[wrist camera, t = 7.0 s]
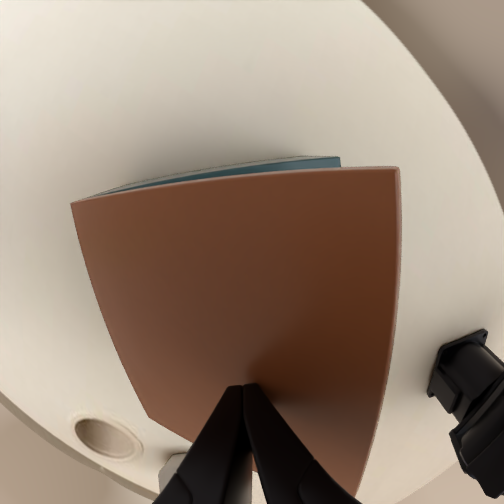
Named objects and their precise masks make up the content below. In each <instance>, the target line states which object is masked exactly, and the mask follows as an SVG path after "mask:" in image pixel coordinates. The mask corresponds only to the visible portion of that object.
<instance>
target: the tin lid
mask: <svg viewBox="0 0 504 504" xmlns="http://www.w3.org/2000/svg"><path fill="white" fill-rule="evenodd" d="M71 209H72V214H73V218H74V222H75V227H76V231H77V235H78V239H79V243H80V246H81V250H82V254H83V257H84V261H85V264H86V267H87V271H88V274H89V277H90V280H91V284H92V287H93V290H94V293H95V296H96V299H97V302H98V304H99V307H100V310H101V313H102V315H103V318H104V321H105V323H106V326H107V329H108V331H109V334H110V336H111V339H112V341H113V344H114V346H115V348H116V351H117V353H118V355H119V358H120V360H121V362H122V365H123V367H124V369H125V371H126V373H127V375H128V378H129V380H130V382H131V384H132V386H133V388H134V390H135V392H136V394H137V396H138V398H139V400H140V402H141V404H142V406H143V408H144V410H145V412H146V413H147V415H148V417H149V418H151V419H152V420H154V421H155V422H157V423H159V424H160V425H162V426H164V427H165V428H167V429H169V430H171V431H172V432H174V433H176V434H178V435H179V436H181V437H183V438H185V439H187V440H189V441H190V442H192V443H194V441H195V440H196V438H197V436H198V435H199V433H200V431H201V430H202V428H203V427H204V425H205V423H206V422H207V420H208V418H209V417H210V415H211V413H212V412H213V410H214V408H215V407H216V405H217V403H218V402H219V400H220V398H221V397H222V395H223V393H224V391H225V390H226V388H227V387H228V386H232V385H242V386H243V385H244V384H248V383H257V384H258V385H259V386H260V388H261V389H262V390H263V392H264V393H265V394H266V396H267V397H268V399H269V400H270V401H271V403H272V404H273V405H274V407H275V408H276V409H277V411H278V412H279V413H280V415H281V416H282V417H283V419H284V420H285V421H286V422H287V424H288V425H289V426H290V428H291V429H292V430H293V431H294V433H295V434H296V435H297V437H298V438H299V439H300V440H301V442H302V443H303V444H304V445H305V447H306V448H307V449H308V450H309V452H310V453H311V454H312V455H313V456H314V459H316V460H317V461H318V462H319V463H320V465H321V466H322V467H323V468H324V469H325V470H326V472H327V473H328V474H329V475H330V476H331V477H332V478H333V479H334V480H335V481H336V482H337V483H338V484H339V485H340V486H341V487H342V488H344V489H345V490H346V491H347V492H348V493H349V494H351V495H352V496H353V497H354V498H355V495H356V493H357V491H358V489H359V486H360V483H361V480H362V477H363V474H364V471H365V468H366V465H367V461H368V458H369V455H370V451H371V448H372V444H373V441H374V437H375V433H376V429H377V425H378V421H379V417H380V413H381V409H382V404H383V400H384V395H385V390H386V385H387V380H388V374H389V369H390V363H391V356H392V350H393V343H394V335H395V328H396V319H397V309H398V299H399V286H400V269H401V241H402V210H401V181H400V169H399V167H396V166H377V167H339V168H318V169H301V170H286V171H273V172H262V173H251V174H241V175H232V176H223V177H214V178H206V179H198V180H191V181H183V182H176V183H170V184H163V185H157V186H150V187H144V188H138V189H133V190H127V191H121V192H116V193H111V194H106V195H101V196H96V197H91V198H86V199H82V200H78V201H75V202H72V203H71ZM252 471H255V472H257V473H258V471H257V468H256V464H255V460H254V457H253V464H252Z"/></svg>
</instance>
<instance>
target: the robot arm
mask: <svg viewBox="0 0 504 504" xmlns="http://www.w3.org/2000/svg"><path fill="white" fill-rule="evenodd" d="M487 335H488V331H487V330H485V329H483V330H481V331H479V332H476V333H474V334H472V335H469V336H467V337H465V338H462V339H460V340H457V341H455V342H452V343H450V344H447V345H444V346H443V347H441V349H440V350H439V353H438V357H437V361H436V365H435V368H434V372H433V375H432V379H431V382H430V385H429V389H428V392H427V395H428V397H429V398H431V397H433V396H436V397H437V399H438V400H439V402H440V403H441V404H442V406H443V407H444V409H445V410H446V411H447V413H449V414H451V413H452V414H453V415H454V416H455V418H456V419H457V421H458V422H459V424H458V425H457V426H456V427H455V428H454V429H452V430H451V431H450V432H449V435H450V438H451V442H452V444H453V447H454V449H455V452H456V455H457V457H458V460H459V463H460V465H461V468H462V470H463V472H464V473H465V474H468V475H469V476H470V477H472V478H473V479H476V480H477V481H478V482H479V484H480V486H481V487H482V489H483V491H484V493H485V495H486V496H489V497H491V498H494V499H496V498H498V497H499V496H500V495H504V363H503V362H502V361H501V360H500V359H499V358H498V357H497V356H496V355H495V354H494V353H493V352H492V351H491V350H490V349H489V348H488V347H486V346H485V342H486V338H487ZM253 457H254V460H255V464H256V468H257V471H258V475H259V478H260V482H261V485H262V489H263V492H264V495H265V499H266V502H267V504H362V503H361V502H359V501H358V500H357V499H355V498H354V497H353V496H352V495H351V494H349V493H348V492H347V491H346V490H345V489H344V488H342V487H341V486H340V485H339V484H338V483H337V482H336V481H335V480H334V479H333V478H332V477H331V476H330V475H329V474H328V473H327V472H326V470H325V469H324V468H323V467H322V466H321V465H320V463H319V462H318V461H317V460H316V459H314V456H313V455H312V454H311V453H310V452H309V450H308V449H307V448H306V447H305V445H304V444H303V443H302V442H301V440H300V439H299V438H298V437H297V435H296V434H295V433H294V431H293V430H292V429H291V428H290V426H289V425H288V424H287V422H286V421H285V420H284V419H283V417H282V416H281V415H280V413H279V412H278V411H277V409H276V408H275V407H274V405H273V404H272V403H271V401H270V400H269V399H268V397H267V396H266V394H265V393H264V392H263V390H262V389H261V388H260V386H259V385H258V384H257V383H248V384H244V385H243V386H242V385H232V386H228V387H227V388H226V390H225V391H224V393H223V395H222V397H221V398H220V400H219V402H218V403H217V405H216V407H215V408H214V410H213V412H212V413H211V415H210V417H209V418H208V420H207V422H206V423H205V425H204V427H203V428H202V430H201V431H200V433H199V435H198V436H197V438H196V440H195V441H194V443H193V444H192V446H191V448H190V449H189V451H188V452H187V454H186V456H185V457H184V459H183V460H182V462H181V463H180V465H179V467H178V468H177V470H176V472H177V473H174V474H173V476H172V477H171V479H170V480H169V482H168V483H167V485H166V486H165V487H164V489H163V490H162V492H161V493H160V494H159V496H158V497H157V498H156V499H155V501H154V502H153V503H152V504H251V502H252V464H253Z"/></svg>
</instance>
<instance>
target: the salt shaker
mask: <svg viewBox="0 0 504 504" xmlns="http://www.w3.org/2000/svg"><path fill="white" fill-rule="evenodd" d="M186 454H187V453H185V454H176V455H172V457H171V458H170V459H169V460H168V462H167V463H166V464H165V466H164V467H163V468H162V469H161V470H160V471H159V474H158V478H159V488H160V493H161V492H162V490H163V489H164V487H165V486H166V485H167V483H168V482H169V480H170V479H171V477H172V476H173V474H174V473H177V472H176V470H177V468H178V467H179V465H180V463H181V462H182V460H183V459H184V457H185V456H186Z"/></svg>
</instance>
